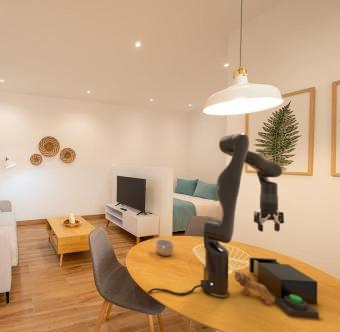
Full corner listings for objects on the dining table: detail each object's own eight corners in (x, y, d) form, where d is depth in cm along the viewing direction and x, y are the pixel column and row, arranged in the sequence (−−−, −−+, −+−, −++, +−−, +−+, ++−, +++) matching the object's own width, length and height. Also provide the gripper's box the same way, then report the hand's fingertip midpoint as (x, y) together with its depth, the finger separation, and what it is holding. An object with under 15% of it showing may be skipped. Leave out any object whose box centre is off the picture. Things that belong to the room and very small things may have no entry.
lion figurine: (232, 291, 99) (232, 271, 99) (236, 287, 102) (236, 268, 102) (273, 307, 87) (274, 286, 87) (276, 302, 91) (276, 281, 91)
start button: (294, 303, 84) (294, 299, 84) (287, 298, 88) (287, 294, 88) (304, 304, 84) (304, 300, 84) (296, 299, 87) (297, 294, 87)
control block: (289, 315, 83) (289, 305, 83) (274, 302, 91) (274, 293, 90) (318, 318, 81) (318, 308, 81) (301, 304, 89) (301, 295, 89)
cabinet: (257, 281, 107) (257, 262, 107) (288, 283, 105) (288, 264, 105) (280, 301, 91) (281, 279, 91) (317, 304, 89) (317, 281, 89)
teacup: (159, 249, 147) (159, 237, 147) (175, 253, 141) (175, 241, 141) (152, 256, 136) (152, 244, 136) (169, 261, 130) (169, 247, 130)
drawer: (244, 267, 119) (244, 253, 119) (269, 269, 117) (269, 255, 117) (267, 287, 100) (267, 270, 100) (297, 289, 99) (297, 272, 99)
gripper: (276, 199, 118) (276, 228, 119) (250, 200, 118) (250, 228, 119) (288, 202, 111) (288, 233, 111) (260, 202, 111) (260, 233, 111)
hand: (268, 231), depth 115 cm, fingers open, 8 cm apart
